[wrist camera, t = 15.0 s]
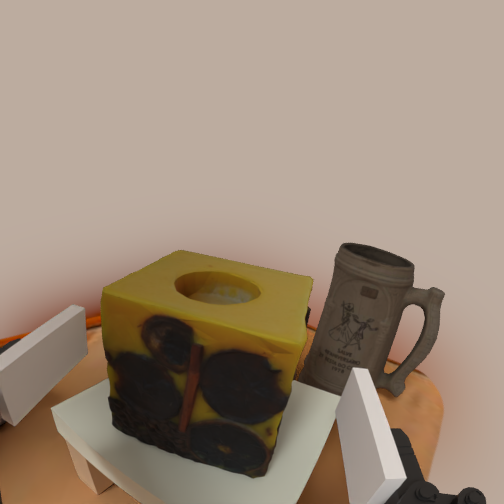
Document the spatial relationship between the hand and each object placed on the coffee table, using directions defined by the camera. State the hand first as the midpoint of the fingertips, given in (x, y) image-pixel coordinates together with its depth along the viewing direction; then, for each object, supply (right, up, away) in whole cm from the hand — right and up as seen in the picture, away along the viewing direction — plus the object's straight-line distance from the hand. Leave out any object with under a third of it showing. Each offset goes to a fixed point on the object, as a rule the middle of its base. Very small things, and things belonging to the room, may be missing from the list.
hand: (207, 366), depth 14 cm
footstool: (-2, -15, +8) cm, 17 cm away
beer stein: (+15, -14, +24) cm, 32 cm away
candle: (-1, -6, +6) cm, 9 cm away
